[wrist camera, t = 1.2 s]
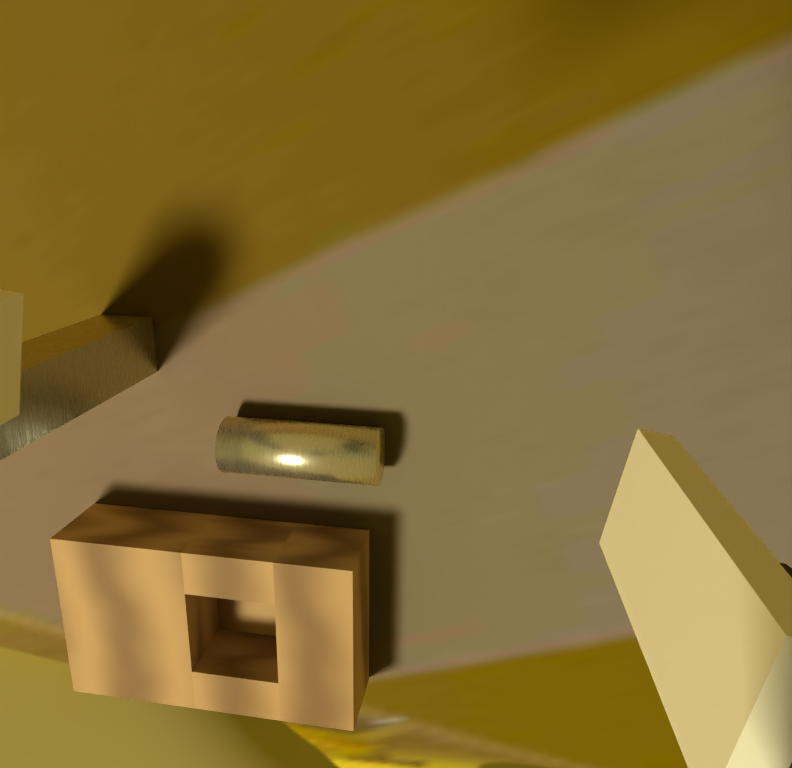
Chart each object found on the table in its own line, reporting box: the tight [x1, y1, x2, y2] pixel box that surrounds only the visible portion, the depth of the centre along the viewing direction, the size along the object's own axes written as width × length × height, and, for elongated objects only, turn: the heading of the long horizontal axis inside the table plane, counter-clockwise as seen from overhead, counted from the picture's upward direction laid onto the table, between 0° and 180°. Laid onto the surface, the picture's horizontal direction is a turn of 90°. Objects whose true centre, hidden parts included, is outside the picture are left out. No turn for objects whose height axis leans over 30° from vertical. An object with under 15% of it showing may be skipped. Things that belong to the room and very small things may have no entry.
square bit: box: [0, 315, 158, 460], centre depth 37 cm, size 4×4×16 cm
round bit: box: [215, 416, 385, 486], centre depth 43 cm, size 10×4×4 cm, turn 89°
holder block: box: [50, 503, 369, 731], centre depth 47 cm, size 20×12×5 cm, turn 89°
